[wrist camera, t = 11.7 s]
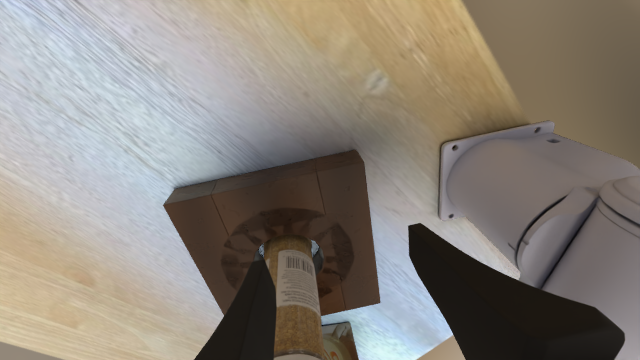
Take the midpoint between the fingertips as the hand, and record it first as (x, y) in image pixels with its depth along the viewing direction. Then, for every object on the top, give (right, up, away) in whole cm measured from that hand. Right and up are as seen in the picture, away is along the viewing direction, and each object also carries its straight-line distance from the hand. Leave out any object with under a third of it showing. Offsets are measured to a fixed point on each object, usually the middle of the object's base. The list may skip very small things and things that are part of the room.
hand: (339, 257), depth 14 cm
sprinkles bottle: (-4, -2, +13) cm, 13 cm away
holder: (-4, -2, +12) cm, 13 cm away
